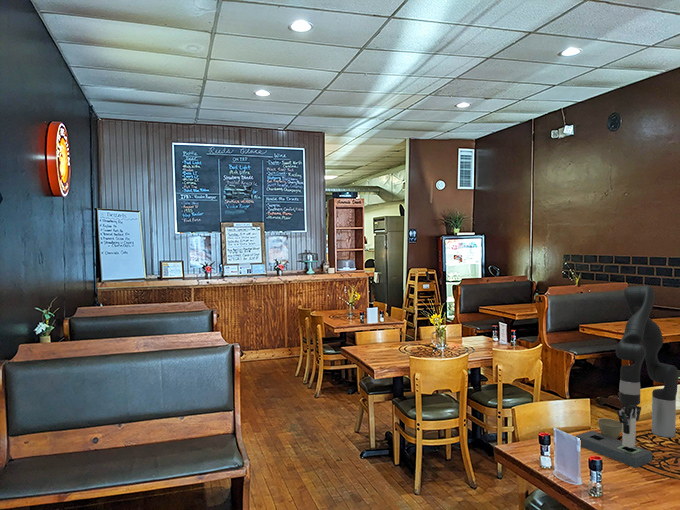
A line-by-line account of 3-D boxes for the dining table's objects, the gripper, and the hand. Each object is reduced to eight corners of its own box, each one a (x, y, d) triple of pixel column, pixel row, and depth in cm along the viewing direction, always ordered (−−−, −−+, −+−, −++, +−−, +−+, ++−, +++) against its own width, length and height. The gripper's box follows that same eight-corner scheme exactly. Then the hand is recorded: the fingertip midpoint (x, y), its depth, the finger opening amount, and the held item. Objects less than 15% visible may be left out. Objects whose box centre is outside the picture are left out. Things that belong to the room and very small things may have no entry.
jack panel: (592, 439, 220) (592, 430, 219) (652, 461, 197) (652, 451, 197) (575, 444, 214) (575, 435, 214) (635, 468, 191) (635, 457, 191)
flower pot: (597, 439, 219) (598, 423, 219) (597, 431, 228) (597, 416, 228) (623, 443, 215) (623, 427, 215) (621, 435, 224) (622, 420, 223)
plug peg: (625, 442, 202) (625, 414, 202) (635, 446, 199) (635, 417, 198) (620, 444, 201) (620, 415, 200) (630, 448, 197) (631, 419, 197)
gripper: (630, 386, 205) (629, 426, 206) (610, 391, 198) (610, 432, 199) (648, 391, 199) (647, 432, 199) (629, 396, 192) (628, 438, 192)
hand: (629, 432), depth 199 cm, fingers closed on plug peg, 3 cm apart
